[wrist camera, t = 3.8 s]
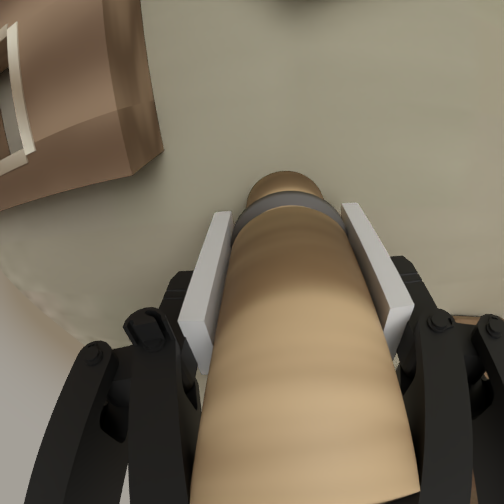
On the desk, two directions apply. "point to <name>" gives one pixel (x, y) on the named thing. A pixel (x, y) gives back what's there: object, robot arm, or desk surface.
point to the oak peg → (299, 367)
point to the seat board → (75, 95)
